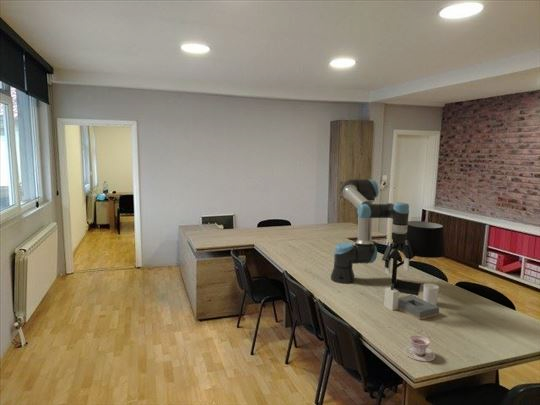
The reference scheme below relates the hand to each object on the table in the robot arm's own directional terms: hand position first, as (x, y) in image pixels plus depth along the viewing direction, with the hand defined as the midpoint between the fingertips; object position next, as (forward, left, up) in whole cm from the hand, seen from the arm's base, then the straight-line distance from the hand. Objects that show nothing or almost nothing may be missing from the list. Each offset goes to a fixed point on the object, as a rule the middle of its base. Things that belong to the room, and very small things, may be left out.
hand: (396, 272), depth 195 cm
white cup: (+4, +22, -20) cm, 30 cm away
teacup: (+39, -26, -20) cm, 50 cm away
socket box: (+7, +7, -19) cm, 22 cm away
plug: (0, -2, -19) cm, 20 cm away
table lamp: (-15, +33, -20) cm, 41 cm away
